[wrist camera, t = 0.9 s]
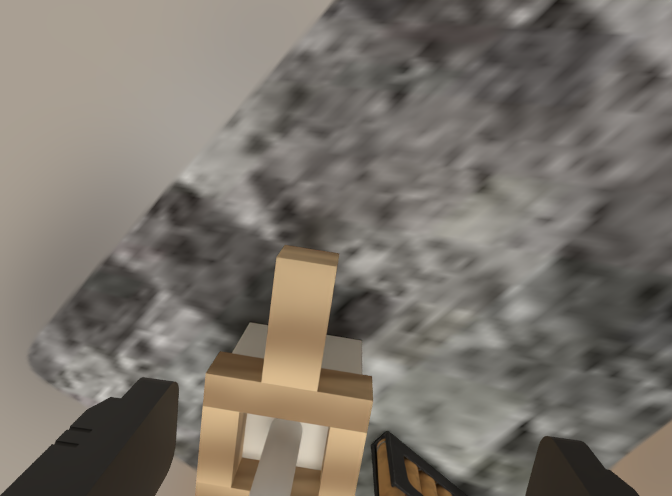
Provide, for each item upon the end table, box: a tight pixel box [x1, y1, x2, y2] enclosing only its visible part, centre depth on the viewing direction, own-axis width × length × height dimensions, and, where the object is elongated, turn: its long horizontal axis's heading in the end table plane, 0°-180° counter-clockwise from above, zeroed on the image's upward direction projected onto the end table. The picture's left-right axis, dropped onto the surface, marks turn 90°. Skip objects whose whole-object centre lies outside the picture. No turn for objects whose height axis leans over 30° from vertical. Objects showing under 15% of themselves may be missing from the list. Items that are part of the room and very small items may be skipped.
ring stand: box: [232, 322, 362, 496], centre depth 25 cm, size 8×8×16 cm
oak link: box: [195, 245, 373, 496], centre depth 25 cm, size 16×9×2 cm, turn 172°
